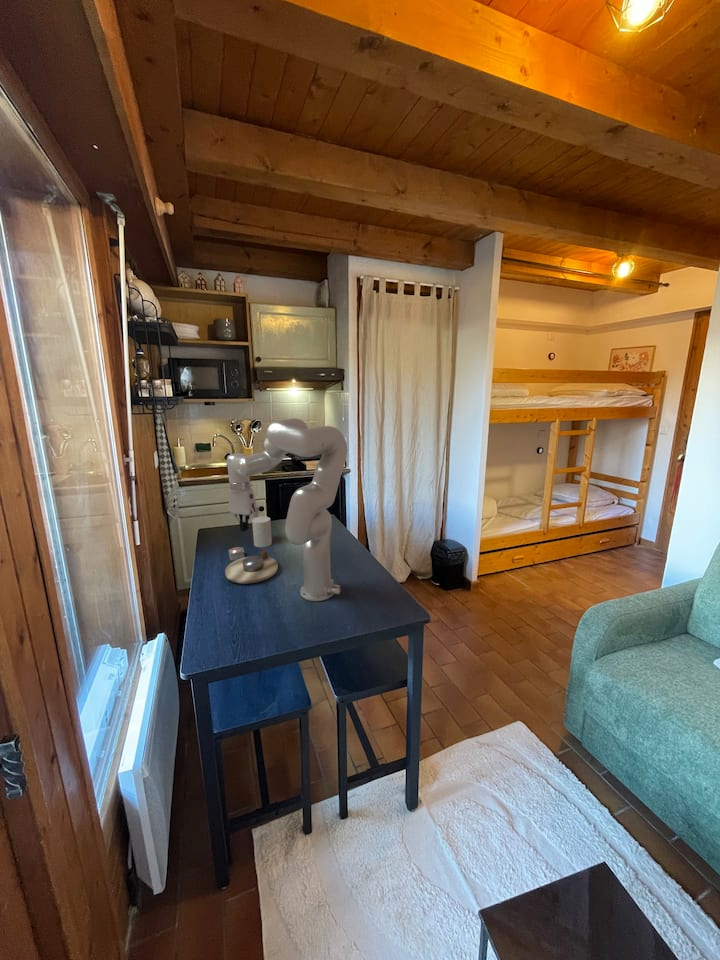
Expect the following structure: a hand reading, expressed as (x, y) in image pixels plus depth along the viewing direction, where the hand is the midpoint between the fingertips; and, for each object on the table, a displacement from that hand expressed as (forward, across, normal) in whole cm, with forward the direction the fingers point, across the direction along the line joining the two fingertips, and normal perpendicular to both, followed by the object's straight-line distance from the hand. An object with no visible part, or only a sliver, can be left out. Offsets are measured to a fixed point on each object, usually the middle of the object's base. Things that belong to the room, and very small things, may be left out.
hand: (244, 530), depth 151 cm
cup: (+16, +8, -22) cm, 29 cm away
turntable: (+15, -4, +3) cm, 16 cm away
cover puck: (+14, -5, +3) cm, 15 cm away
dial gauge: (+16, +11, -6) cm, 20 cm away
